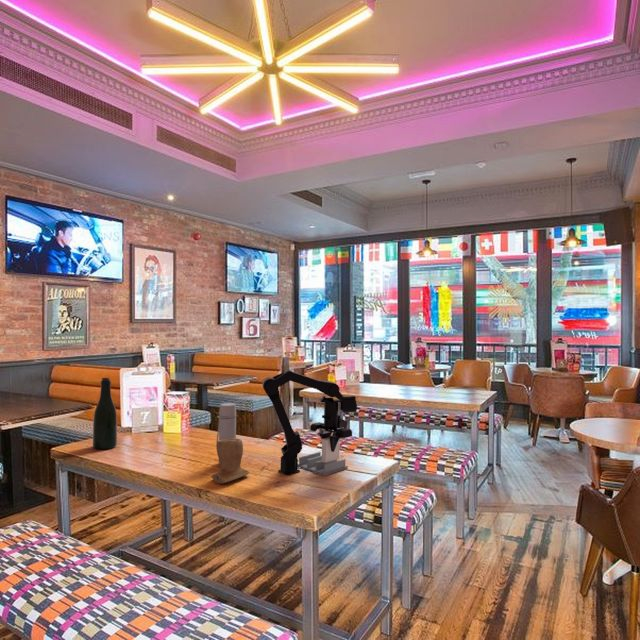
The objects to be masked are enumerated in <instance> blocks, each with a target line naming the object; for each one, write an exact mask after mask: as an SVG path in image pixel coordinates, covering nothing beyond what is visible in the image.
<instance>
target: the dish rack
mask: <svg viewBox="0 0 640 640" xmlns="http://www.w3.org/2000/svg"><path fill="white" fill-rule="evenodd" d="M299 467H301V468H300V469H302V468H303V470H306V469H307V470H306V471H309V472H311V473H315V472H316V473H315V474H318V475H321V476H324V475H325V476H328V475H330V474H334V473H337V472H339V471H343V470H346V468H347V469H348V467H349V466H348V465H346V458H343V459H337V460H334V461H330V462H327V463H325V462H322V451H317V452H314V453H309V454H306V455H302V456H298V468H299Z"/></svg>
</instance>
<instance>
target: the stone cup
mask: <svg viewBox="0 0 640 640" xmlns="http://www.w3.org/2000/svg"><path fill="white" fill-rule="evenodd" d="M216 442H217V441H216ZM216 453H217V457H218V463H219V462H220V464H219V471H217V472H215V473H213V474H211V476H210V477H211V478H212V480H214V482H216V483H217V484H219V485H220V484H226V483H229V482H231V481H235V480H237V479H240V478H243V477H245V476H247V475H249V474H250V471H249V470H246V469H244V468H242V467H241V465H242V459H243V454H244V445H243V441H242V439H241V438H236V439H224V440H219V439H218V442H217V449H216Z"/></svg>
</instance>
